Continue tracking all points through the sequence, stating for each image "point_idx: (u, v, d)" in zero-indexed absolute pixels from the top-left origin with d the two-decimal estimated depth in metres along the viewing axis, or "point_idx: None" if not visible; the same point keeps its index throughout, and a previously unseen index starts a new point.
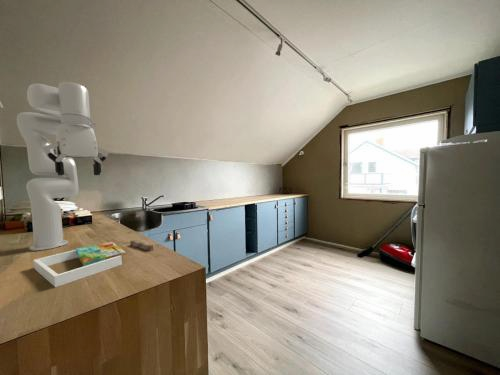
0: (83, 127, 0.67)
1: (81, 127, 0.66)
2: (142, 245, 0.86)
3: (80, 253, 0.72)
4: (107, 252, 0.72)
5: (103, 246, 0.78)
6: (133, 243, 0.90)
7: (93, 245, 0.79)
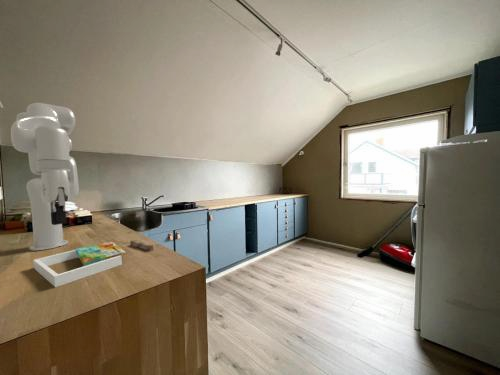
0: None
1: None
2: (142, 245, 0.86)
3: (80, 253, 0.72)
4: (107, 252, 0.72)
5: (103, 246, 0.78)
6: (133, 243, 0.90)
7: (93, 245, 0.79)
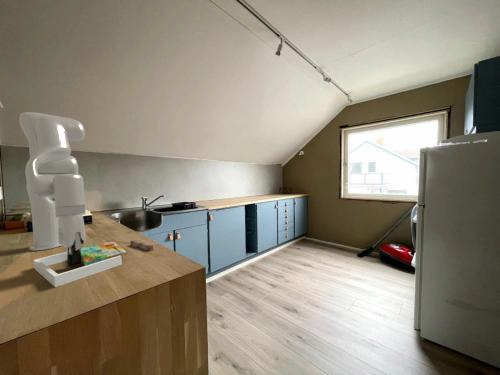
0: None
1: None
2: (142, 245, 0.86)
3: (81, 253, 0.72)
4: (108, 252, 0.72)
5: (104, 246, 0.78)
6: (133, 243, 0.90)
7: (94, 245, 0.79)
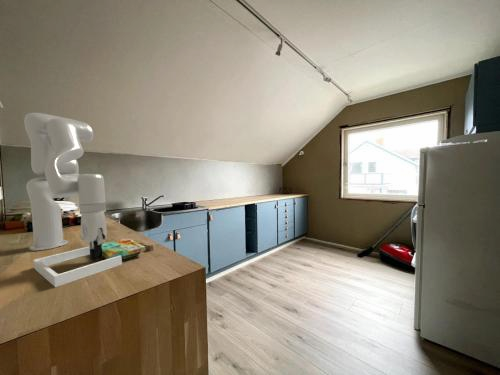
0: None
1: None
2: None
3: (102, 248, 0.76)
4: (127, 247, 0.77)
5: (122, 242, 0.83)
6: None
7: (112, 241, 0.84)
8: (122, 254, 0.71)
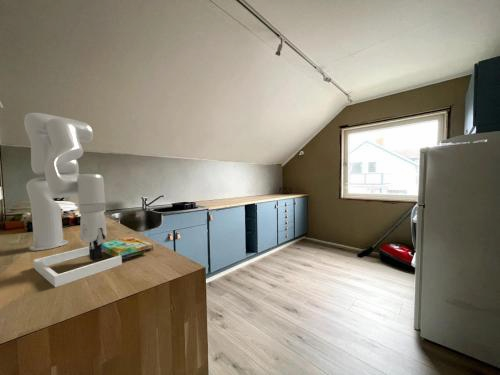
0: None
1: None
2: None
3: (108, 246, 0.77)
4: (134, 245, 0.79)
5: (126, 240, 0.84)
6: None
7: (115, 240, 0.85)
8: (130, 251, 0.73)
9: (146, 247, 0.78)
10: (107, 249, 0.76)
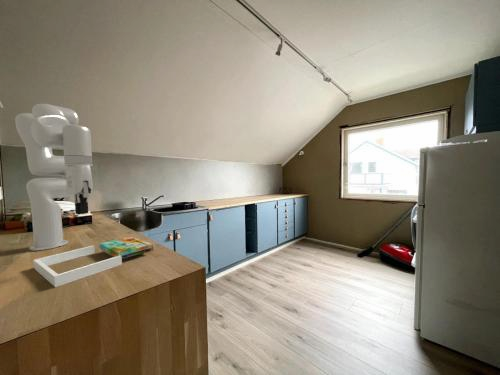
0: None
1: None
2: None
3: (108, 246, 0.77)
4: (134, 245, 0.79)
5: (126, 240, 0.84)
6: None
7: (115, 240, 0.85)
8: (130, 251, 0.73)
9: (146, 247, 0.78)
10: (107, 249, 0.76)
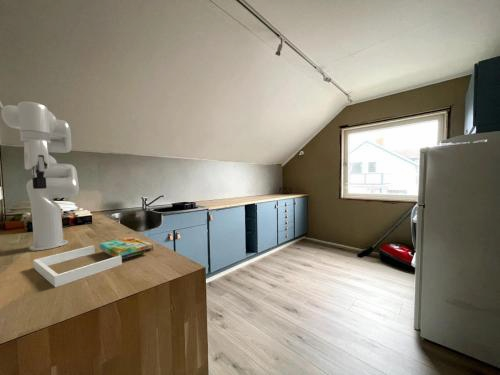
0: None
1: None
2: None
3: (108, 246, 0.77)
4: (134, 245, 0.79)
5: (126, 240, 0.84)
6: None
7: (115, 240, 0.85)
8: (130, 251, 0.73)
9: (146, 247, 0.78)
10: (107, 249, 0.76)
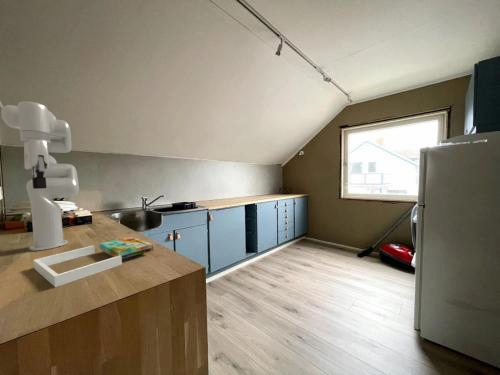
0: None
1: None
2: None
3: (108, 246, 0.77)
4: (134, 245, 0.79)
5: (126, 240, 0.84)
6: None
7: (115, 240, 0.85)
8: (130, 251, 0.73)
9: (146, 247, 0.78)
10: (107, 249, 0.76)
